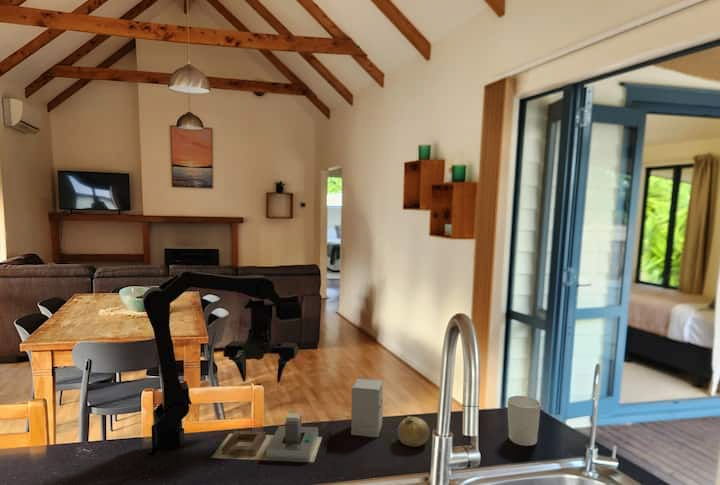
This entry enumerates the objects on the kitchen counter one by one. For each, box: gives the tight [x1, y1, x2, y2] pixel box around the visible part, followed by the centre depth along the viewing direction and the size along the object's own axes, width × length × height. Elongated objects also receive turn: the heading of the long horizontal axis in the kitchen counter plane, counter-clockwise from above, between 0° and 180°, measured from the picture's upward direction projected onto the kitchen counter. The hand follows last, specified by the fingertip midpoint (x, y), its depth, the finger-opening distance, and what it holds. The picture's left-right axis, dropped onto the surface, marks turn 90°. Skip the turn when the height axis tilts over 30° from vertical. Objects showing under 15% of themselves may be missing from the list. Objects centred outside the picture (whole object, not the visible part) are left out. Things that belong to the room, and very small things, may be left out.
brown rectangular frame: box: [222, 430, 267, 456], centre depth 114 cm, size 8×9×2 cm
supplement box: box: [350, 378, 384, 438], centre depth 124 cm, size 7×7×13 cm
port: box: [265, 425, 319, 463], centre depth 113 cm, size 10×12×3 cm
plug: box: [284, 412, 302, 444], centre depth 113 cm, size 3×4×8 cm, turn 176°
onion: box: [397, 415, 430, 448], centre depth 118 cm, size 8×8×7 cm
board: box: [210, 433, 323, 463], centre depth 113 cm, size 24×12×1 cm, turn 86°
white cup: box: [507, 395, 541, 447], centre depth 119 cm, size 8×8×10 cm
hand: (261, 381), depth 124 cm, fingers open, 9 cm apart
